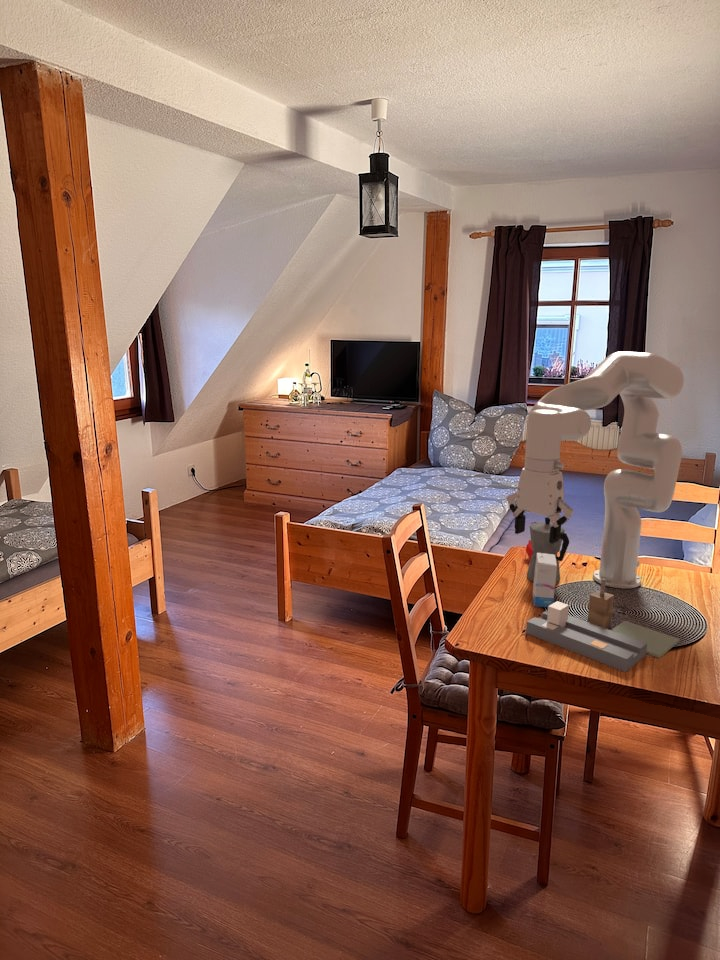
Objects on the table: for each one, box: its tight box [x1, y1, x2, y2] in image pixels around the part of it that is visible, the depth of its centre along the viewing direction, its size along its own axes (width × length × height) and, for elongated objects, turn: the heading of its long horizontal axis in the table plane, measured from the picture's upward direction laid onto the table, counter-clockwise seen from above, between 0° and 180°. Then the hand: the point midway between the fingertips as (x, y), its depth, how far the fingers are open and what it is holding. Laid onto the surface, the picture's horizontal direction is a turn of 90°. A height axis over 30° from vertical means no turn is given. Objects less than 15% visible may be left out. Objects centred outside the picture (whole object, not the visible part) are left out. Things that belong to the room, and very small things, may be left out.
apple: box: [525, 539, 533, 561], centre depth 203 cm, size 7×7×8 cm
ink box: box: [532, 553, 557, 608], centre depth 174 cm, size 9×5×12 cm, turn 168°
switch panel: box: [525, 609, 647, 673], centre depth 152 cm, size 10×24×3 cm, turn 44°
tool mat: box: [610, 620, 681, 659], centre depth 155 cm, size 11×13×1 cm
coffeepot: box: [526, 516, 570, 584], centre depth 187 cm, size 15×9×18 cm, turn 24°
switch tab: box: [547, 600, 570, 627], centre depth 156 cm, size 4×3×5 cm
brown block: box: [586, 579, 615, 629], centre depth 160 cm, size 4×4×12 cm
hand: (536, 537), depth 157 cm, fingers open, 8 cm apart
